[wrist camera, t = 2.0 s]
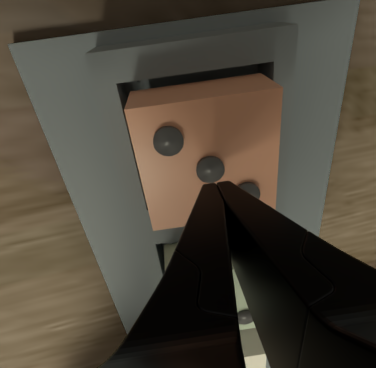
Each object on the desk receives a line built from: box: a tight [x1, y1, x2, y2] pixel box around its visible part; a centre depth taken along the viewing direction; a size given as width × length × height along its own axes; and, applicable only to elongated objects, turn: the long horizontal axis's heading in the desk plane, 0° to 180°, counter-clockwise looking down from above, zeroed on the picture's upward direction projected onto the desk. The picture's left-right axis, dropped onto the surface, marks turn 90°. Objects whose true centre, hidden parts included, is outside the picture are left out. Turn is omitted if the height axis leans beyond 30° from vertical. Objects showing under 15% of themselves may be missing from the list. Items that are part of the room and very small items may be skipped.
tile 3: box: [124, 73, 283, 231], centre depth 11 cm, size 5×5×2 cm
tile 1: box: [240, 328, 266, 368], centre depth 20 cm, size 5×5×2 cm
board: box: [8, 0, 360, 368], centre depth 17 cm, size 25×14×2 cm, turn 7°
